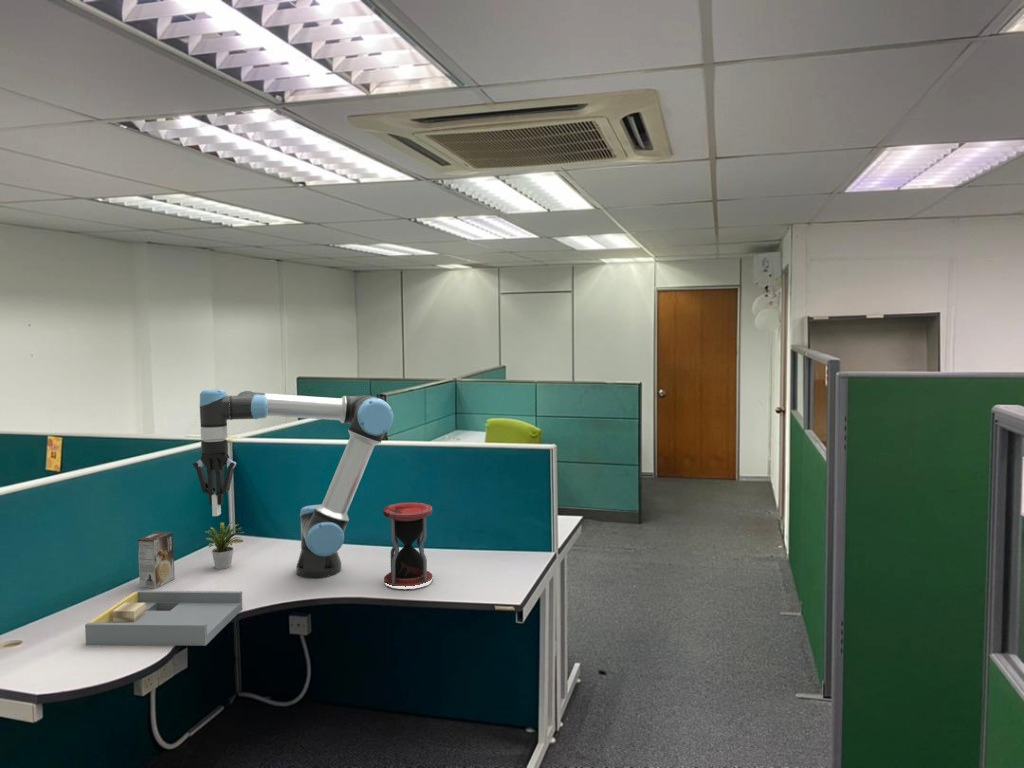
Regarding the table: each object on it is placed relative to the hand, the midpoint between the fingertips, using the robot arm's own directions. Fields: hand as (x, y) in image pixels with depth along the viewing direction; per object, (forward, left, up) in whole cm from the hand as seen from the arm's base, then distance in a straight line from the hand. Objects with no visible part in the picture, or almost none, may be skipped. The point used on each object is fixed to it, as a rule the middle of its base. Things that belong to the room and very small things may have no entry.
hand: (216, 514), depth 213 cm
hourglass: (-57, -15, -27) cm, 65 cm away
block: (+16, +21, -24) cm, 36 cm away
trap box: (+5, +21, -26) cm, 34 cm away
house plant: (+11, -27, -27) cm, 39 cm away
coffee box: (+26, -12, -27) cm, 39 cm away
